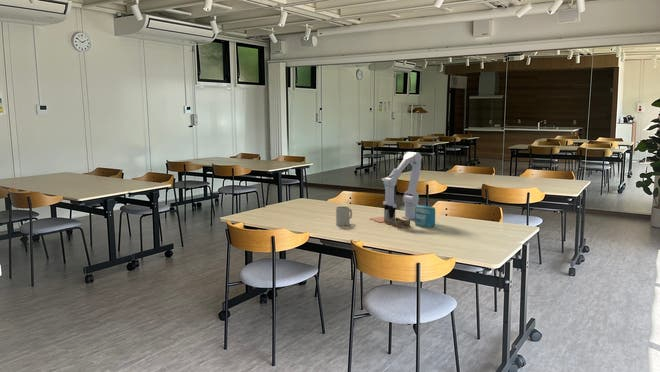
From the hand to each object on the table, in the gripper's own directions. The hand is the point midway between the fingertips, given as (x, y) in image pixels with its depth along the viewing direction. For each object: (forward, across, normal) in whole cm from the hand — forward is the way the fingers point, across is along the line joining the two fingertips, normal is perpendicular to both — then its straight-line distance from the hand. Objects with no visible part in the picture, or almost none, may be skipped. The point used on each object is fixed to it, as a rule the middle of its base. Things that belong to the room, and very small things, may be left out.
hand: (389, 216), depth 337 cm
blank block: (+2, 0, 0) cm, 2 cm away
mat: (+3, -6, 0) cm, 7 cm away
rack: (+3, +9, 0) cm, 9 cm away
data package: (+3, +20, +14) cm, 25 cm away
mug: (+3, -6, -29) cm, 30 cm away
